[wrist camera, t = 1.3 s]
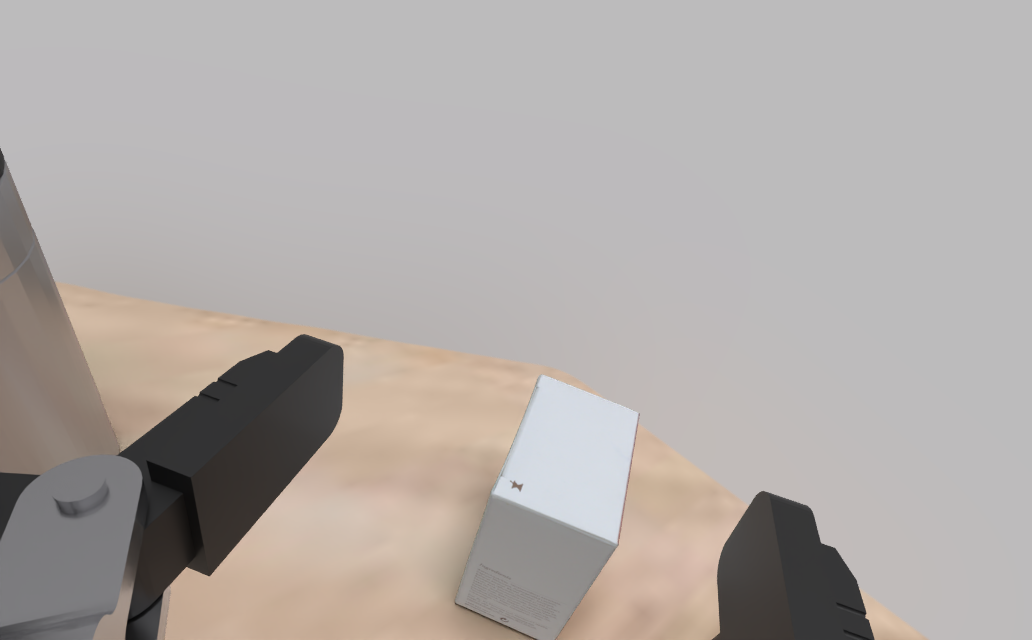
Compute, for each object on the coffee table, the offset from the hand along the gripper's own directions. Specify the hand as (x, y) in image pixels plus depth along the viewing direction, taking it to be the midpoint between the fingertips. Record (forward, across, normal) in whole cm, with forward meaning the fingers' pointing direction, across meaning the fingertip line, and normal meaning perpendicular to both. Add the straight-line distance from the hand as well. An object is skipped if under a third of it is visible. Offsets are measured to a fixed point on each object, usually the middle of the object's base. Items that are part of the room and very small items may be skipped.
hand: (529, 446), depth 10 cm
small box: (+12, -1, +20) cm, 24 cm away
